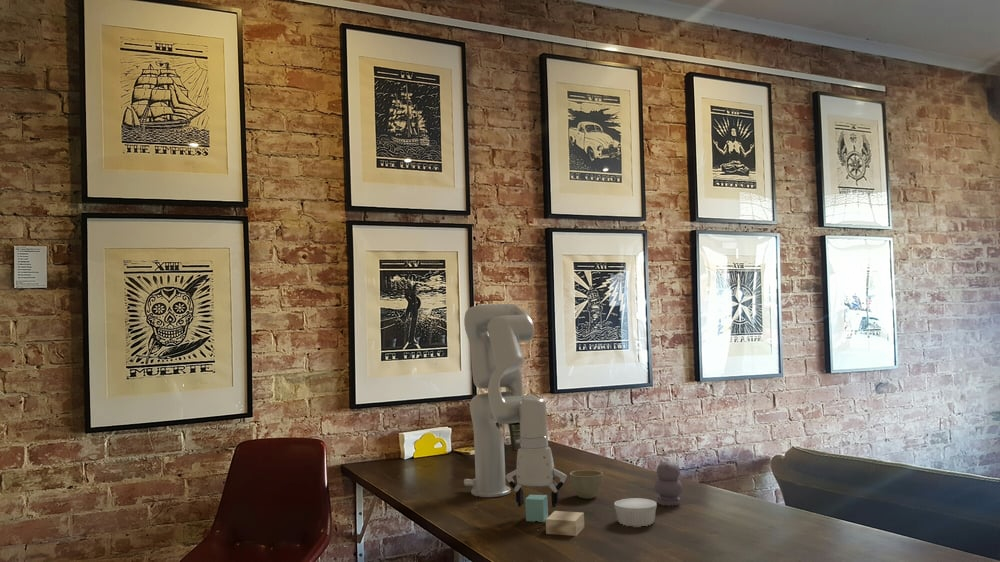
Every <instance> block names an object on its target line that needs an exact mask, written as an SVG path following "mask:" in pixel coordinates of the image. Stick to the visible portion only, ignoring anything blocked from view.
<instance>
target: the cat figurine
mask: <svg viewBox="0 0 1000 562" xmlns="http://www.w3.org/2000/svg"><path fill="white" fill-rule="evenodd" d="M659 461H660V462H659V464H658V465H657V467H656V475H657V477H658V479H657V480H656V481H655V483H654V489H655V491H656V493H657V494H658V495H659V496H658V497H657V504H658V503H659V504H658V505H660V504H661V505H660V506H664V505H668V506H667V507H674V506H673V505H676V506H679V505H680V504H681V498H680V497H679V496H680V495H681V494H682V491H683V484H682V482H681V481H680V480H679V478H680V474H681V471H680V468H679V466H678V465H677V464H676V463H675V462H672V461H667V460H666V461H664V460H662V459H660V460H659ZM678 504H679V505H678ZM670 505H672V506H670Z"/></svg>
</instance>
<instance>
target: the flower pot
mask: <svg viewBox="0 0 1000 562" xmlns="http://www.w3.org/2000/svg"><path fill="white" fill-rule="evenodd" d="M603 475H604V474H603V472H602V471H600V470H593V469H581V470H580V469H579V470H573V471H570V472H569V477H570V481H571V484H572V487H573V490H574V491H575V493H576V495H577V497H579V498H580V499H595V497H596V496H597V495H598V492H599V490H600V488H601V485H602V481H603Z"/></svg>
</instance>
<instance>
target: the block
mask: <svg viewBox="0 0 1000 562" xmlns="http://www.w3.org/2000/svg"><path fill="white" fill-rule="evenodd" d="M524 502H525V503H524V504H525V521H526V522H535V521H538V522H537V523H539V522H540V523H541V522H543V523H545V522H546V518H547V517H549V505H548V495H546V494H529V495H528V496H527V497H526V498H524Z"/></svg>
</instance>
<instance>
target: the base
mask: <svg viewBox="0 0 1000 562" xmlns="http://www.w3.org/2000/svg"><path fill="white" fill-rule="evenodd" d="M584 528H585V512H580V511H579V512H578V511H564V510H563V511H562V510H560V511H559V510H554V511H553V512H551V514H550V515H548V517H547V518H546V520H545V531H546V532H545V534H546V535H560V536H573V537H574V536H575V537H576V536H578V535H579V533H581V531H582V530H583V529H584Z"/></svg>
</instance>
